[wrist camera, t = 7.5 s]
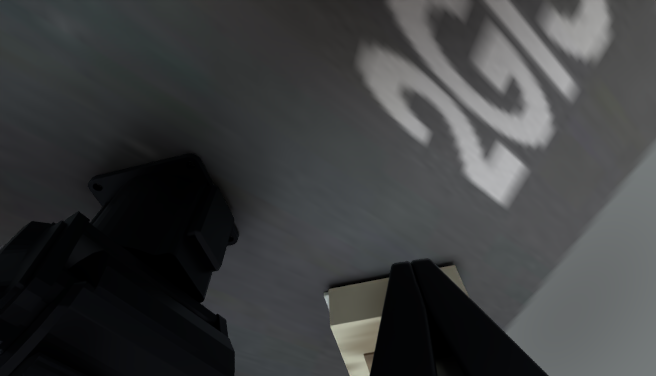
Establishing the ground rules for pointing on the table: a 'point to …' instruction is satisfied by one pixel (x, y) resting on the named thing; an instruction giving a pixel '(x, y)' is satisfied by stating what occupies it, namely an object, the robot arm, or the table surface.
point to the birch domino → (363, 319)
